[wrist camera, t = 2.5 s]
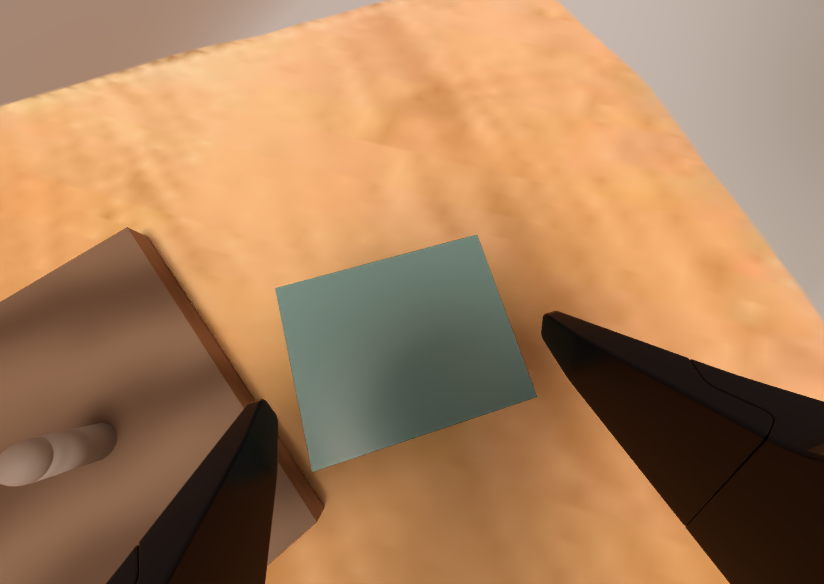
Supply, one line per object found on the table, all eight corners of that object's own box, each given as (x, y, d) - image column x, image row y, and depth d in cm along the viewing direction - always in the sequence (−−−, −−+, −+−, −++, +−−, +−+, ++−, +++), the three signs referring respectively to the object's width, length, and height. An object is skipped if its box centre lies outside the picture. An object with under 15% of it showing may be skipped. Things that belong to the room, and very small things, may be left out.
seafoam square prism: (469, 378, 18) (537, 396, 9) (357, 414, 17) (312, 472, 8) (441, 292, 19) (477, 234, 10) (335, 322, 18) (275, 287, 9)
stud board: (324, 507, 16) (288, 576, 11) (93, 708, 14) (-89, 916, 9) (148, 237, 19) (55, 192, 14) (-64, 365, 17) (-267, 368, 12)
